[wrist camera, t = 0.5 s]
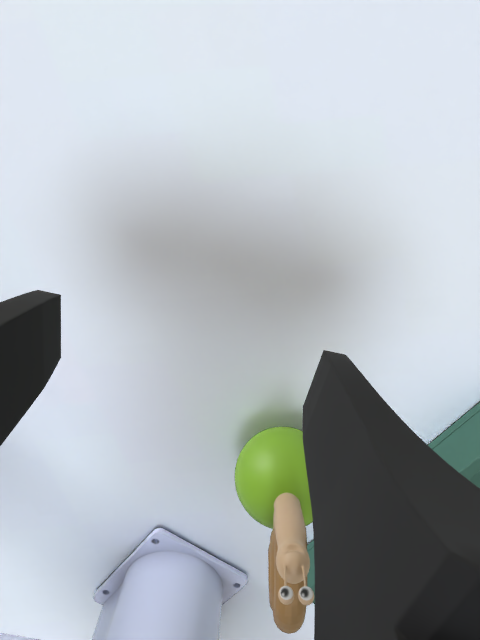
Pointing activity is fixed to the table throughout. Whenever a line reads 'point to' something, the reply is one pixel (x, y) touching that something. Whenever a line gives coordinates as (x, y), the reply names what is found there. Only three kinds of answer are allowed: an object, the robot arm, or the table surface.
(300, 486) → the googly-eyed toy snail
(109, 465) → the table surface
